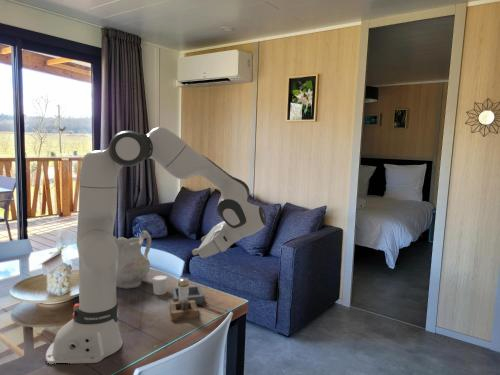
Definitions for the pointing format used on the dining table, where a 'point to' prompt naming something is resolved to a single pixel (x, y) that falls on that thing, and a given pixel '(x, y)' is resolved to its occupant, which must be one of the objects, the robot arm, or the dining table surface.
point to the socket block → (183, 311)
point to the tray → (190, 294)
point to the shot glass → (160, 284)
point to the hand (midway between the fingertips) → (197, 246)
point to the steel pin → (183, 293)
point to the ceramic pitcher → (132, 260)
